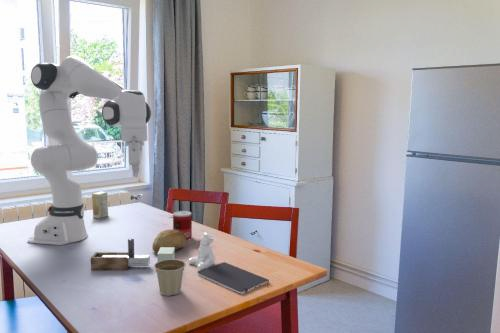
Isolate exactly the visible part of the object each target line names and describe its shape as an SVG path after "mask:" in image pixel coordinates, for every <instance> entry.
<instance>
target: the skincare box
mask: <svg viewBox="0 0 500 333" xmlns="http://www.w3.org/2000/svg"><path fill="white" fill-rule="evenodd" d="M91 196H92V197H91V198H92V199H91V200H92V217H93V219H103V218H105V217H108V216H109V206H108V192H107V191H103V190H102V191H97V192H94V193H92V194H91Z"/></svg>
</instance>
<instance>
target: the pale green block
mask: <svg viewBox="0 0 500 333" xmlns="http://www.w3.org/2000/svg"><path fill="white" fill-rule="evenodd" d="M156 255H157V262H159V261H162V260H168V259H176V249H175V247H160V249H159V251H158V253H156ZM157 262H156V263H157Z"/></svg>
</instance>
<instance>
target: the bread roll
mask: <svg viewBox="0 0 500 333" xmlns="http://www.w3.org/2000/svg"><path fill="white" fill-rule="evenodd" d="M187 241H188V240H187V239H186V235H185V234H184V233H183V232H181V231H178V230H174V229H173V228H172V229H166V230H165V229H164V230H163V231H160V232H159V233H158V234H157V235H156V236H155V238H154V240H153V242H152V251H153V252H154V253H155V254H157V253H158V251H159V249H160V247H175V250H178V249H181V248H183V247H185V246H186V245H187Z"/></svg>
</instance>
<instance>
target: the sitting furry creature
mask: <svg viewBox="0 0 500 333" xmlns="http://www.w3.org/2000/svg"><path fill="white" fill-rule="evenodd" d="M213 242H214V238H213V236H212V234H210V233H208V232H204V233H202V236H201V238H200V242H199V244H200V245H199V248H198V249H197V250H198V254H197V256H191V257H189V258H188V264H189V265H195V266H196V271H197V272H198V271H200V270H203V269H206V268H209V267H211V266H214V264H215V262H216V260H217V258H216V255H215V254H214V252H213V249H212V247H211V244H212V243H213Z"/></svg>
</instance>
